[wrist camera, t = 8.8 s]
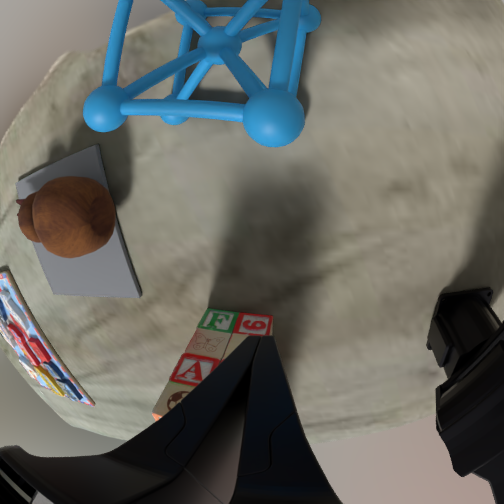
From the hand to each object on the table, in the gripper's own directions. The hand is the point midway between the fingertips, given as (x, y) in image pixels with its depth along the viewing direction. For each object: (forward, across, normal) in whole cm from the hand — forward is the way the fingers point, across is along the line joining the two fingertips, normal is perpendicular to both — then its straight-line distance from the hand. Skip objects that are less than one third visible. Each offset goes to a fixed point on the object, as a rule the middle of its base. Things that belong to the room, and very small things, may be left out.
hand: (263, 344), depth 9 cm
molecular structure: (+13, +2, -12) cm, 18 cm away
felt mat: (+13, +22, -1) cm, 26 cm away
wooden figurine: (+9, +13, -3) cm, 16 cm away
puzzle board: (+14, +52, +19) cm, 57 cm away
